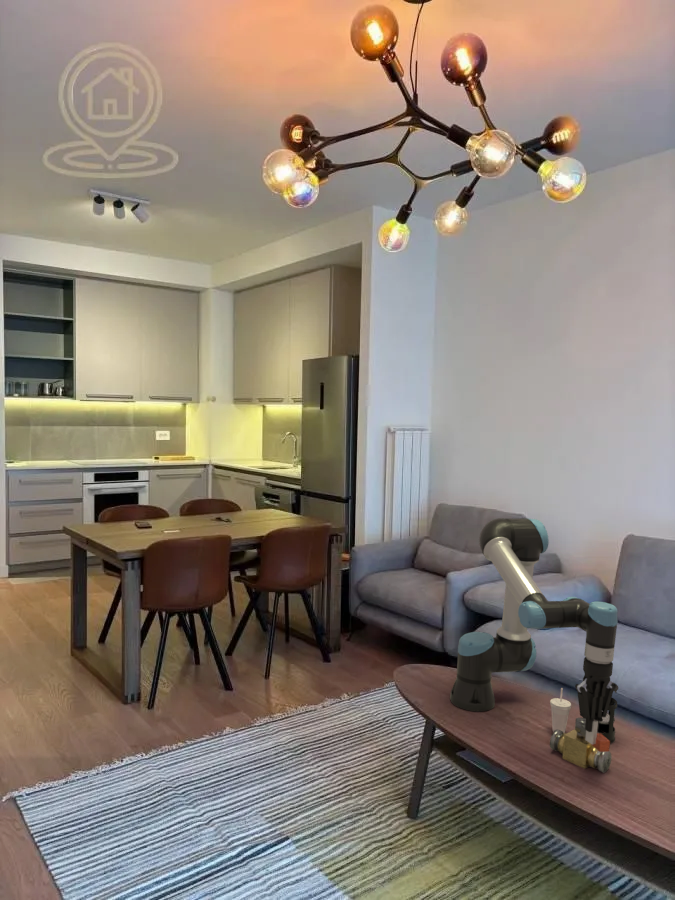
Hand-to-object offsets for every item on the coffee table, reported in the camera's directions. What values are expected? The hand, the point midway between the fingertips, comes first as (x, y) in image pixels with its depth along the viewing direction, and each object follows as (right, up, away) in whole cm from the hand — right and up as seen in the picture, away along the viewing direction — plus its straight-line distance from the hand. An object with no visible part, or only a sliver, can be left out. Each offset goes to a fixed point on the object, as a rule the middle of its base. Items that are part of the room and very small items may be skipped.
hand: (590, 741), depth 187 cm
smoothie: (0, -8, +26) cm, 28 cm away
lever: (+2, -1, +4) cm, 4 cm away
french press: (+12, -9, +25) cm, 29 cm away
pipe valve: (0, -9, +9) cm, 13 cm away
